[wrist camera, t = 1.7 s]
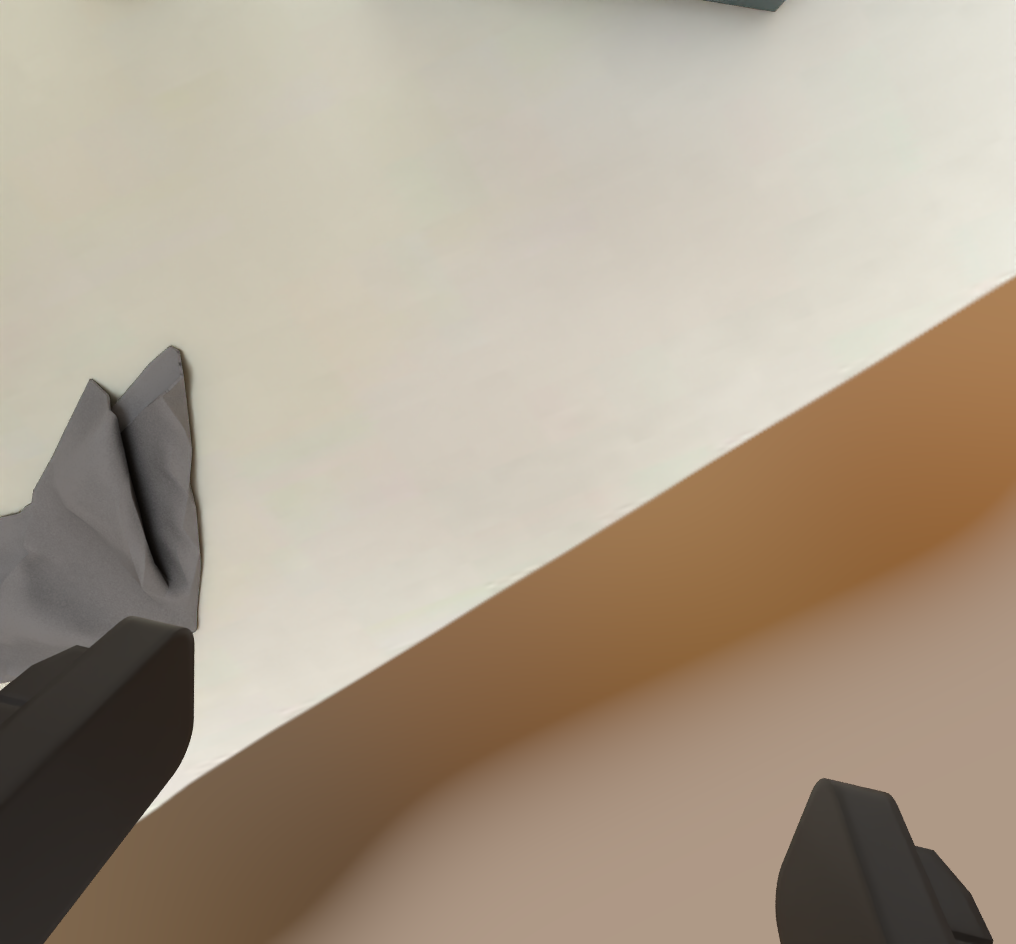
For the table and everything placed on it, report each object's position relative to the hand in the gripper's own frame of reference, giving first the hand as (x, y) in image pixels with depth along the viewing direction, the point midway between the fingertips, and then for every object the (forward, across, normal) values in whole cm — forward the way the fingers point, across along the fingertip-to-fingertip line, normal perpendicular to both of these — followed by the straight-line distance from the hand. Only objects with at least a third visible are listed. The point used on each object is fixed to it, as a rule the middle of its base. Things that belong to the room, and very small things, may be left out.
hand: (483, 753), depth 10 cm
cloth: (+28, +25, +18) cm, 42 cm away
